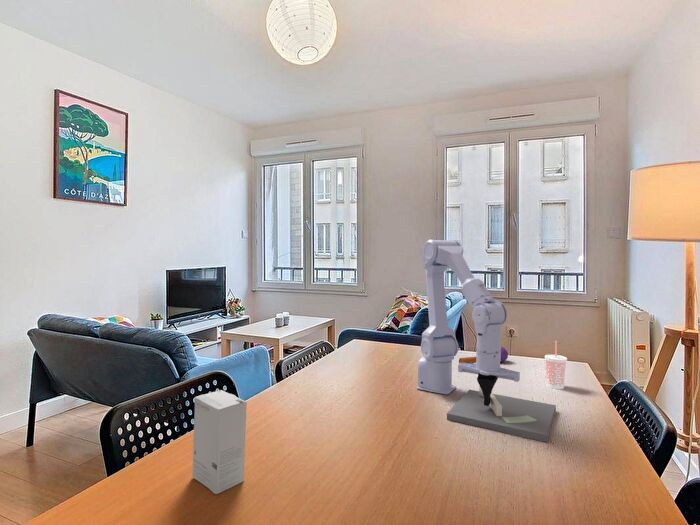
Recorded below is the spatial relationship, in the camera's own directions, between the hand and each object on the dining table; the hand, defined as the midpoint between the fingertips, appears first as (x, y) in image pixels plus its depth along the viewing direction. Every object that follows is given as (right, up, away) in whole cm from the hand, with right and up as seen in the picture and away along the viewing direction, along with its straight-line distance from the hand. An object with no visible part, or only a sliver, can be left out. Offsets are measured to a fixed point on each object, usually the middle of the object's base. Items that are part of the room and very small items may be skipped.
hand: (487, 404), depth 102 cm
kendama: (+14, -2, +46) cm, 48 cm away
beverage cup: (+28, -2, +22) cm, 35 cm away
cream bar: (+2, -1, +3) cm, 3 cm away
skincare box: (-58, -4, -29) cm, 65 cm away
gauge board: (+4, -3, 0) cm, 5 cm away
